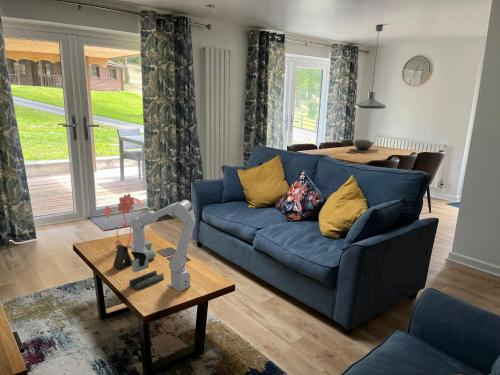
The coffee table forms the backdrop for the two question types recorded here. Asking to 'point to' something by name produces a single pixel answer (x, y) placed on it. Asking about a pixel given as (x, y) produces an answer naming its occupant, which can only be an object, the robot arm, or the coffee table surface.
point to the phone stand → (122, 258)
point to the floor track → (145, 280)
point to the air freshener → (150, 249)
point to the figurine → (124, 206)
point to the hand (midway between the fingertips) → (140, 265)
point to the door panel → (137, 267)
